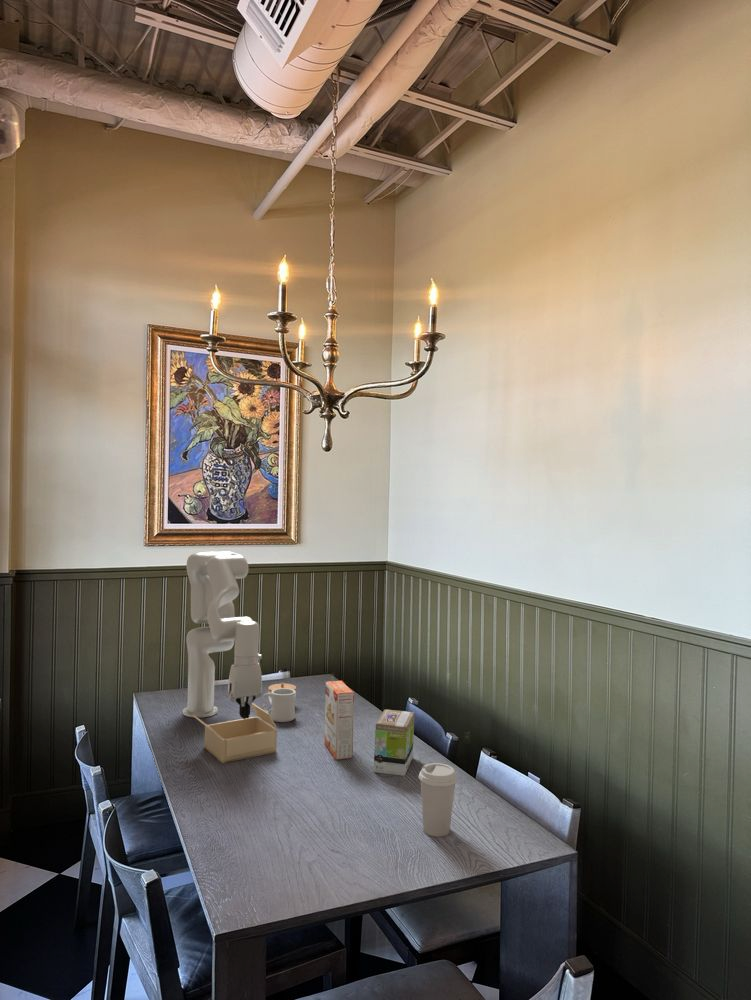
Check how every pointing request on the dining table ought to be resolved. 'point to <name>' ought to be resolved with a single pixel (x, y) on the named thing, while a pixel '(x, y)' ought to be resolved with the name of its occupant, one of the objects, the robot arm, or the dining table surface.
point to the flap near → (207, 726)
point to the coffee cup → (437, 797)
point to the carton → (240, 739)
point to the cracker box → (339, 719)
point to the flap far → (263, 714)
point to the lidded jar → (282, 685)
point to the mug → (281, 704)
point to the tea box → (394, 742)
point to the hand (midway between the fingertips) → (244, 717)
